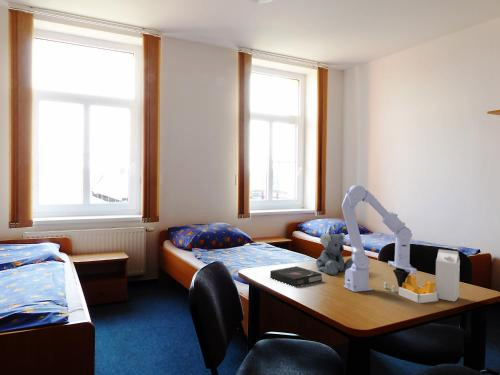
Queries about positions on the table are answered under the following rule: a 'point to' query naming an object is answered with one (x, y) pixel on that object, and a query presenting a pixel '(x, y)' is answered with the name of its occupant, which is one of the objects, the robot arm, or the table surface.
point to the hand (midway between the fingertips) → (401, 286)
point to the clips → (393, 288)
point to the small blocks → (385, 285)
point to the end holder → (418, 296)
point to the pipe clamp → (414, 288)
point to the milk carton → (447, 275)
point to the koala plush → (332, 254)
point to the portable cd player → (296, 276)
